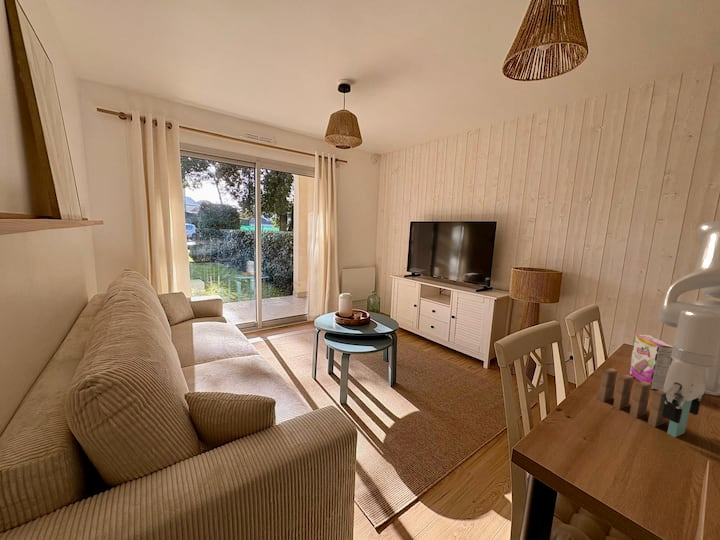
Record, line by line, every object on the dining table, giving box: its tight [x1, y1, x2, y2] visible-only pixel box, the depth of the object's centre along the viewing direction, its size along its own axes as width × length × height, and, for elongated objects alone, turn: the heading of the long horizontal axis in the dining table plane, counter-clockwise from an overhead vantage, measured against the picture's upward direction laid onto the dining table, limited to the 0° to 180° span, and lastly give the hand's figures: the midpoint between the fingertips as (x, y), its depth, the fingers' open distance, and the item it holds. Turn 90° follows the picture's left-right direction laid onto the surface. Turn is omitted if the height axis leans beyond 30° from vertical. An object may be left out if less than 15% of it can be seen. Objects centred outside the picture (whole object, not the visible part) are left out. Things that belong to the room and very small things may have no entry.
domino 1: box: [597, 367, 619, 403], centre depth 93 cm, size 5×2×10 cm, turn 112°
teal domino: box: [666, 398, 692, 438], centre depth 78 cm, size 5×2×10 cm, turn 112°
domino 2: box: [612, 373, 635, 410], centre depth 89 cm, size 5×2×10 cm, turn 112°
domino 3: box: [629, 381, 652, 419], centre depth 86 cm, size 5×2×10 cm, turn 112°
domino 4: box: [647, 389, 666, 428], centre depth 82 cm, size 5×2×10 cm, turn 112°
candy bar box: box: [628, 333, 673, 391], centre depth 104 cm, size 11×5×16 cm, turn 168°
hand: (679, 415), depth 78 cm, fingers open, 9 cm apart
